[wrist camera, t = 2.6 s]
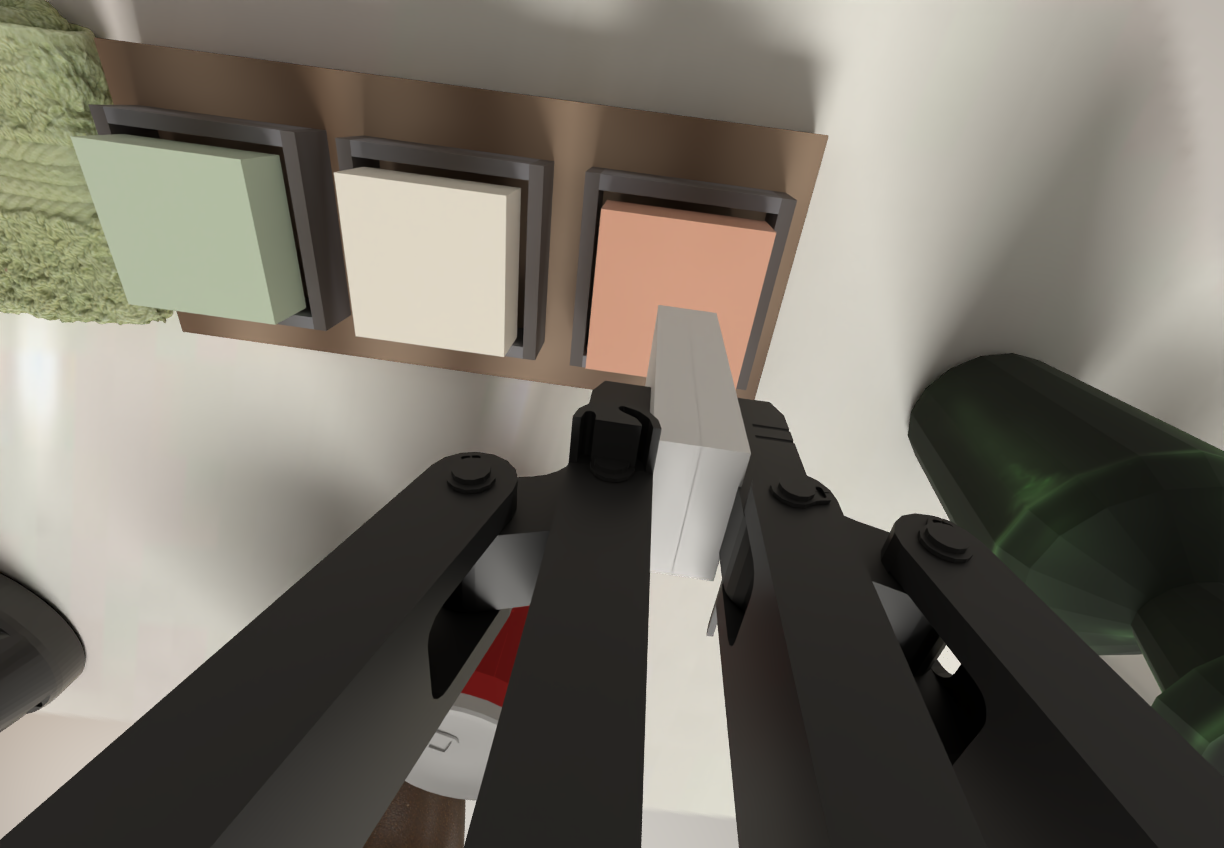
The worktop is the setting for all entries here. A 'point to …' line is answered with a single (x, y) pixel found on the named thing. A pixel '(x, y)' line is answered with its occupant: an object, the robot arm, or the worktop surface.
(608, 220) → the button terracotta
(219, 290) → the button sage
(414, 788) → the plant pot
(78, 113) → the washcloth
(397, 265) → the button cream
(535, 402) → the worktop surface
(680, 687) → the worktop surface
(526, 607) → the canned food
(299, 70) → the console
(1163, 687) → the potion bottle
